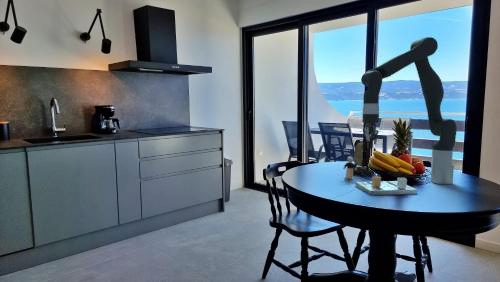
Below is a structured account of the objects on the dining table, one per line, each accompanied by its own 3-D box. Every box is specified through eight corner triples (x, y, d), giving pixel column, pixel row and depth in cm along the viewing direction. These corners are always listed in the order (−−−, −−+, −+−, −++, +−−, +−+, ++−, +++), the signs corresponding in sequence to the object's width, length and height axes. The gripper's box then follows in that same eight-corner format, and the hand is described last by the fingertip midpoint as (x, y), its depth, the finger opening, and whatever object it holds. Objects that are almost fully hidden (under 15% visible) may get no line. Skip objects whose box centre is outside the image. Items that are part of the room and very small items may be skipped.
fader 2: (402, 186, 154) (403, 177, 154) (406, 188, 151) (406, 178, 151) (396, 187, 154) (397, 177, 154) (400, 188, 151) (400, 178, 151)
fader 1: (377, 185, 158) (378, 175, 158) (380, 186, 155) (381, 176, 155) (371, 185, 158) (372, 175, 157) (374, 186, 155) (375, 177, 154)
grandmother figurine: (341, 179, 181) (342, 156, 180) (343, 177, 185) (344, 155, 183) (356, 180, 178) (357, 157, 176) (357, 179, 181) (358, 156, 180)
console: (397, 184, 168) (397, 180, 168) (416, 193, 151) (417, 189, 151) (355, 185, 166) (355, 181, 166) (370, 194, 149) (370, 190, 149)
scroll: (342, 172, 199) (343, 139, 197) (361, 170, 205) (362, 138, 203) (360, 177, 185) (361, 142, 183) (380, 175, 192) (381, 140, 189)
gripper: (384, 113, 154) (383, 150, 156) (372, 112, 168) (371, 146, 169) (369, 113, 154) (368, 150, 156) (357, 112, 167) (357, 146, 169)
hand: (369, 148), depth 163 cm, fingers closed
